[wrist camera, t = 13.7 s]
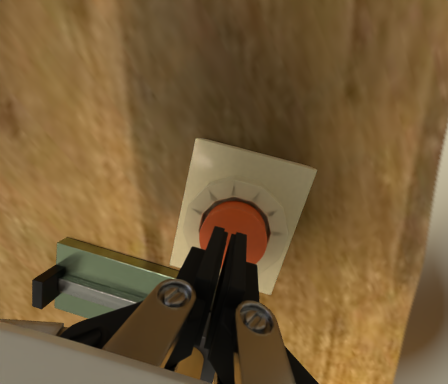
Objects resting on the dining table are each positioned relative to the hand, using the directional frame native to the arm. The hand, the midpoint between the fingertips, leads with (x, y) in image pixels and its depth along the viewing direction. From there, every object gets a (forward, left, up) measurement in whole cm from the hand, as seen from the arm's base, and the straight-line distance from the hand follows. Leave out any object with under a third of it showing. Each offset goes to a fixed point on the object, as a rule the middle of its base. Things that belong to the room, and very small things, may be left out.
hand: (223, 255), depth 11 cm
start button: (+1, 0, -5) cm, 5 cm away
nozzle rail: (+12, -6, -8) cm, 16 cm away
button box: (+1, 0, -8) cm, 8 cm away
